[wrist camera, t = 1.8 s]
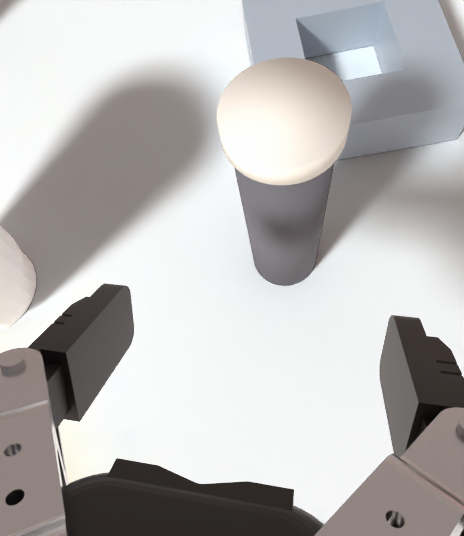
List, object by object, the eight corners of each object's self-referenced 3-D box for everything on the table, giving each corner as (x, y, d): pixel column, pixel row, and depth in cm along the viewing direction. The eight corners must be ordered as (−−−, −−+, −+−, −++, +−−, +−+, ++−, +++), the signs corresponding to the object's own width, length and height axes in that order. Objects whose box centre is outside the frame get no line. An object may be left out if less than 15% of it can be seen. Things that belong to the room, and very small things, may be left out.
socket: (269, 171, 32) (267, 139, 29) (245, 36, 37) (241, -7, 33) (456, 139, 31) (479, 101, 28) (406, 4, 36) (420, -43, 32)
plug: (254, 294, 29) (224, 178, 15) (245, 230, 31) (210, 71, 17) (326, 283, 29) (365, 154, 15) (313, 218, 31) (336, 46, 16)
